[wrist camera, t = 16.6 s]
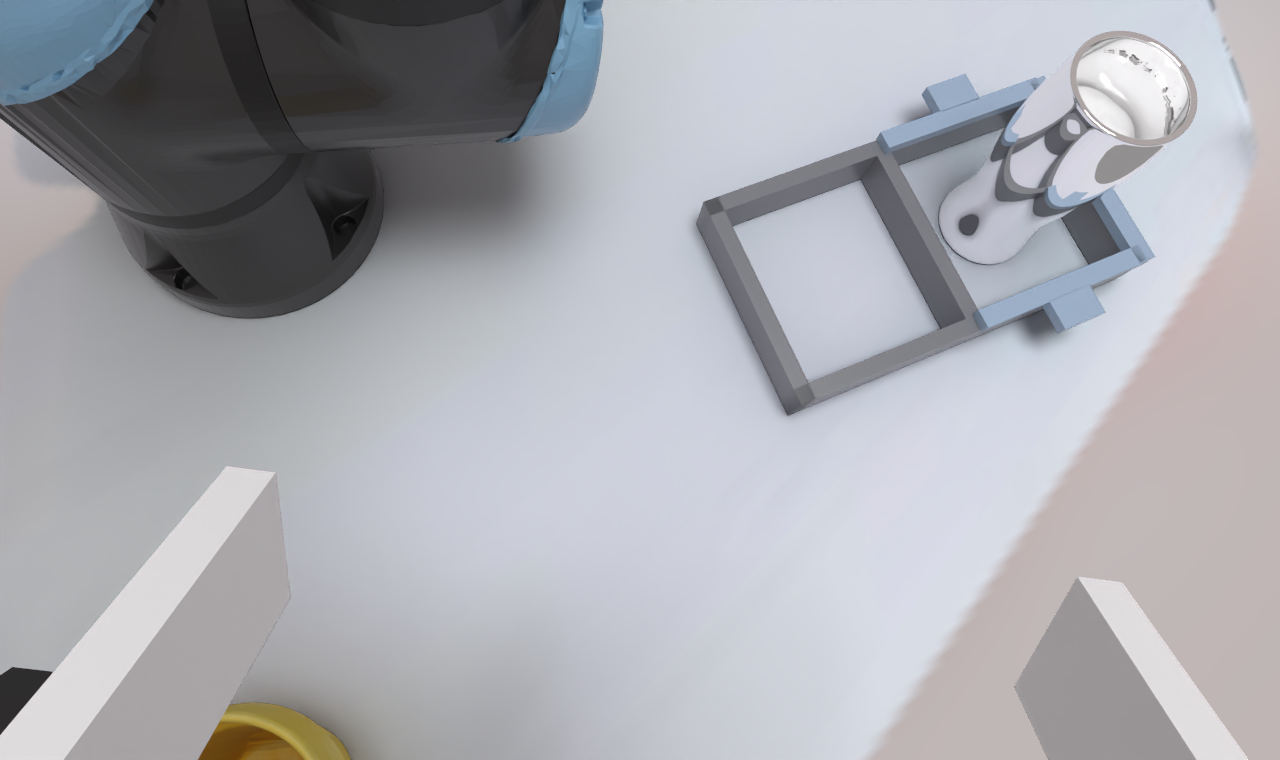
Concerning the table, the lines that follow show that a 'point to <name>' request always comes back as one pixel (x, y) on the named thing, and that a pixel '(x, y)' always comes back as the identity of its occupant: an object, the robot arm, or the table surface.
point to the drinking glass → (1071, 143)
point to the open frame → (914, 243)
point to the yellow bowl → (270, 736)
